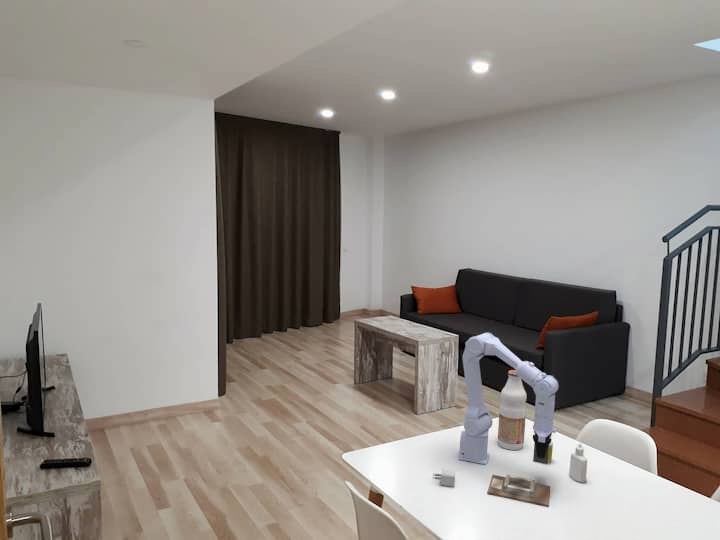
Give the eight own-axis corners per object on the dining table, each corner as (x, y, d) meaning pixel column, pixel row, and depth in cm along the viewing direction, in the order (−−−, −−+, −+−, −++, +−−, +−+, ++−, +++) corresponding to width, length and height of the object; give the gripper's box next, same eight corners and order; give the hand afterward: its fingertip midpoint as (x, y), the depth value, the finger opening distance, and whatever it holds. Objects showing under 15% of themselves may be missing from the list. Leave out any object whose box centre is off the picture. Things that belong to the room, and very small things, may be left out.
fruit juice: (504, 451, 198) (509, 376, 195) (492, 440, 208) (497, 368, 204) (528, 449, 201) (533, 375, 197) (515, 438, 210) (520, 367, 206)
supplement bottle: (548, 465, 189) (550, 438, 187) (533, 460, 192) (534, 434, 191) (553, 460, 193) (555, 433, 192) (538, 455, 196) (540, 429, 195)
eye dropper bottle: (572, 482, 178) (575, 447, 176) (568, 474, 183) (571, 439, 182) (586, 483, 177) (589, 448, 176) (581, 475, 183) (584, 440, 181)
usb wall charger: (454, 487, 172) (454, 475, 172) (432, 485, 173) (432, 473, 173) (454, 481, 176) (455, 469, 176) (432, 478, 177) (433, 467, 177)
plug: (533, 461, 176) (534, 443, 175) (533, 457, 179) (535, 439, 179) (547, 464, 175) (548, 446, 174) (547, 459, 178) (549, 442, 177)
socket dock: (487, 493, 169) (487, 486, 169) (492, 476, 180) (492, 468, 180) (548, 507, 163) (549, 498, 162) (550, 487, 174) (550, 480, 173)
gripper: (556, 424, 167) (553, 467, 169) (557, 408, 180) (554, 448, 182) (532, 421, 169) (529, 462, 171) (535, 405, 183) (532, 444, 185)
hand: (540, 455), depth 177 cm, fingers closed on plug, 3 cm apart
